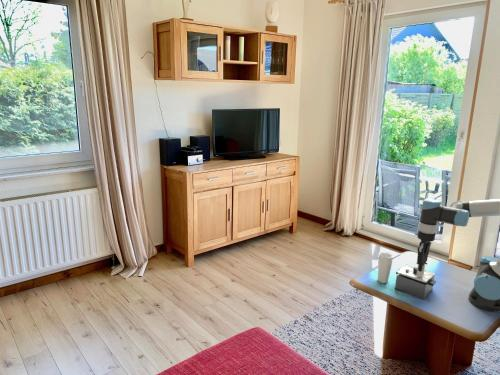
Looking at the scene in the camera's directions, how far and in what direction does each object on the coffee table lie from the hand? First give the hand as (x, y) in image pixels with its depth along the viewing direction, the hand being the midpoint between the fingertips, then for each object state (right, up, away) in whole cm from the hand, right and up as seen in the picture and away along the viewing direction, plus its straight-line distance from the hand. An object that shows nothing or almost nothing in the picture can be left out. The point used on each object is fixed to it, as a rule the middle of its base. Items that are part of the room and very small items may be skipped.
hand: (419, 276), depth 180 cm
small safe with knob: (0, -8, +7) cm, 11 cm away
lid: (0, 0, +5) cm, 5 cm away
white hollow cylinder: (-13, -6, +15) cm, 21 cm away
